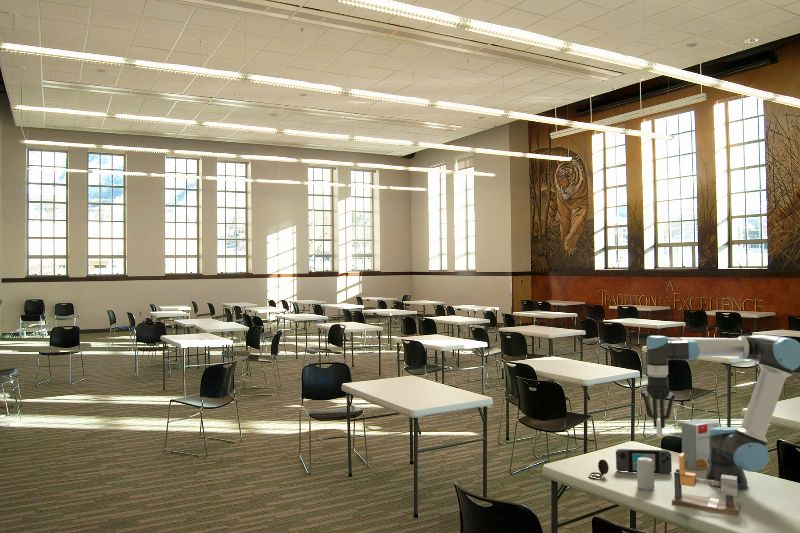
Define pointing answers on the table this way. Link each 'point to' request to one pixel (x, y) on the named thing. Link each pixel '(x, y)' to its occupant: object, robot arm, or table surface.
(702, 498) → the cord board
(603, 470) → the compass
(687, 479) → the orange l-shaped block
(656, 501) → the table surface
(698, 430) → the hard drive box
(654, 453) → the handheld gaming console
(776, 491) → the table surface
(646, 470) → the beverage can
